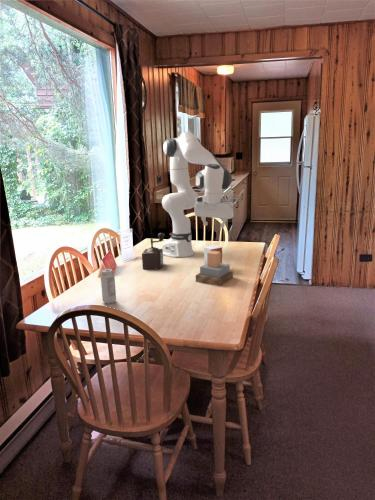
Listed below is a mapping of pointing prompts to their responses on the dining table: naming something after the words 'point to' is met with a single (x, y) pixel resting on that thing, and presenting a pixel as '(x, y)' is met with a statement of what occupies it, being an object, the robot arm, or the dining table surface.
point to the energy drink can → (108, 286)
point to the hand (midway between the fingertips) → (213, 226)
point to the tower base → (214, 279)
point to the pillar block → (213, 259)
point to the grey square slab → (215, 270)
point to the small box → (212, 248)
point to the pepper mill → (153, 255)
